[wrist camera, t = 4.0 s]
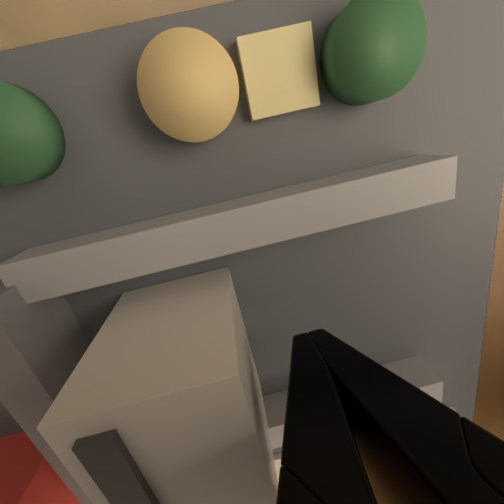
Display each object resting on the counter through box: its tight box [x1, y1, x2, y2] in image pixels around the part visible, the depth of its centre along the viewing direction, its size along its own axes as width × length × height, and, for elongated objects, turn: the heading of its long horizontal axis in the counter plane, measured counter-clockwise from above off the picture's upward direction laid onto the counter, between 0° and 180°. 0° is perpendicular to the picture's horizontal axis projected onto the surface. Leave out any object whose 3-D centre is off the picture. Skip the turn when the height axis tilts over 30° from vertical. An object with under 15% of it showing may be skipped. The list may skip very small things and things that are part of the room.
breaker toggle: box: [36, 267, 278, 504], centre depth 7 cm, size 3×4×4 cm
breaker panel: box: [0, 0, 504, 504], centre depth 8 cm, size 20×16×3 cm
